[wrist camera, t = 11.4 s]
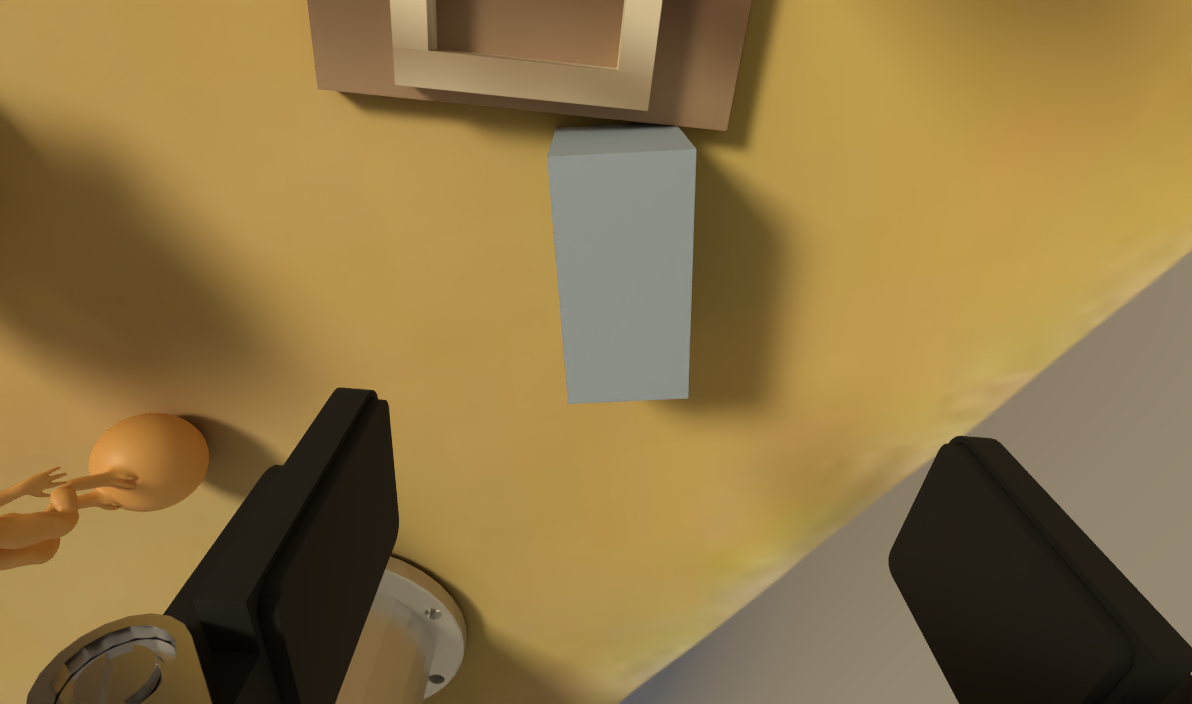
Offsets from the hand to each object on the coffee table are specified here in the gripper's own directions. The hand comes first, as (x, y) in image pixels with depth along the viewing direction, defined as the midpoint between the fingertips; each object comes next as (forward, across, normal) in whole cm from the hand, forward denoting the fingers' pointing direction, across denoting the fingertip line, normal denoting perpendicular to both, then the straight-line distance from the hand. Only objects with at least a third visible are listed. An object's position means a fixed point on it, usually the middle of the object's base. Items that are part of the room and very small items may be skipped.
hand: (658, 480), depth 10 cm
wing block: (+14, 0, 0) cm, 14 cm away
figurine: (+14, +19, +10) cm, 26 cm away
